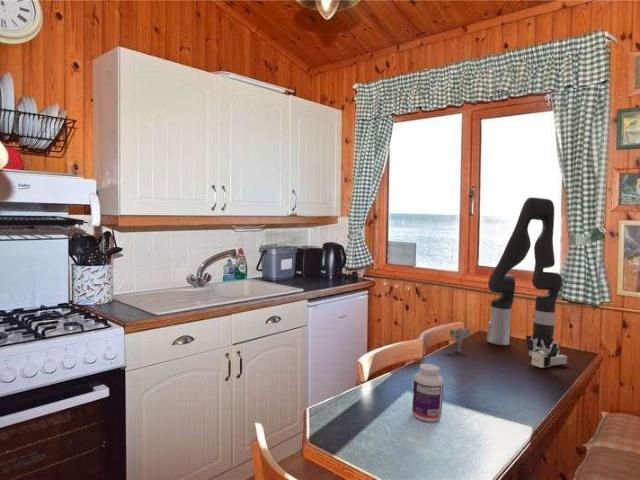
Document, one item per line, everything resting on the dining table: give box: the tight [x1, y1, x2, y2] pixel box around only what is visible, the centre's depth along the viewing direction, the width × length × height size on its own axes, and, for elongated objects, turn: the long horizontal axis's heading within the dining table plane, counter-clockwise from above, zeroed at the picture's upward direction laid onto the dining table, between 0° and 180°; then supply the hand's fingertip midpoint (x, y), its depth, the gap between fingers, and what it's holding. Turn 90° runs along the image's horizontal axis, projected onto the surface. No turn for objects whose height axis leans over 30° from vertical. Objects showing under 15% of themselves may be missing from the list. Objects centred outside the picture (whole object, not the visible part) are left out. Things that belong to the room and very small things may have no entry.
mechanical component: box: [449, 327, 471, 353], centre depth 192 cm, size 3×10×10 cm, turn 115°
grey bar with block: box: [530, 351, 568, 369], centre depth 177 cm, size 17×4×5 cm, turn 114°
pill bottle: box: [411, 363, 444, 423], centre depth 124 cm, size 8×8×14 cm
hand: (540, 364), depth 175 cm, fingers closed on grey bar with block, 4 cm apart
